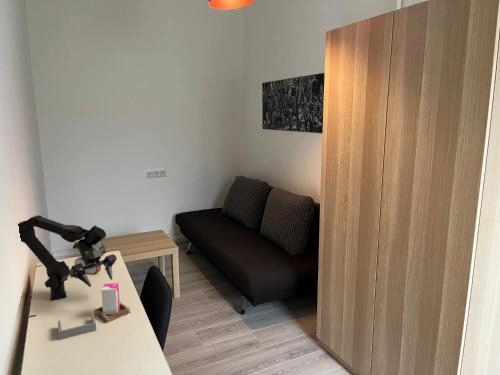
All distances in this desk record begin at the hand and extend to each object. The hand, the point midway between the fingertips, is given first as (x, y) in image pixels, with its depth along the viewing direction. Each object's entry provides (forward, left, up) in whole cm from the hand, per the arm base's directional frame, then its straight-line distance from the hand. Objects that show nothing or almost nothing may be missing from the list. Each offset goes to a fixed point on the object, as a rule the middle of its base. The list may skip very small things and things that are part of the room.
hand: (101, 282), depth 155 cm
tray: (+7, +3, -11) cm, 14 cm away
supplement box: (+7, +3, -11) cm, 13 cm away
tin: (-43, -3, -12) cm, 45 cm away
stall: (+12, -11, -11) cm, 20 cm away
